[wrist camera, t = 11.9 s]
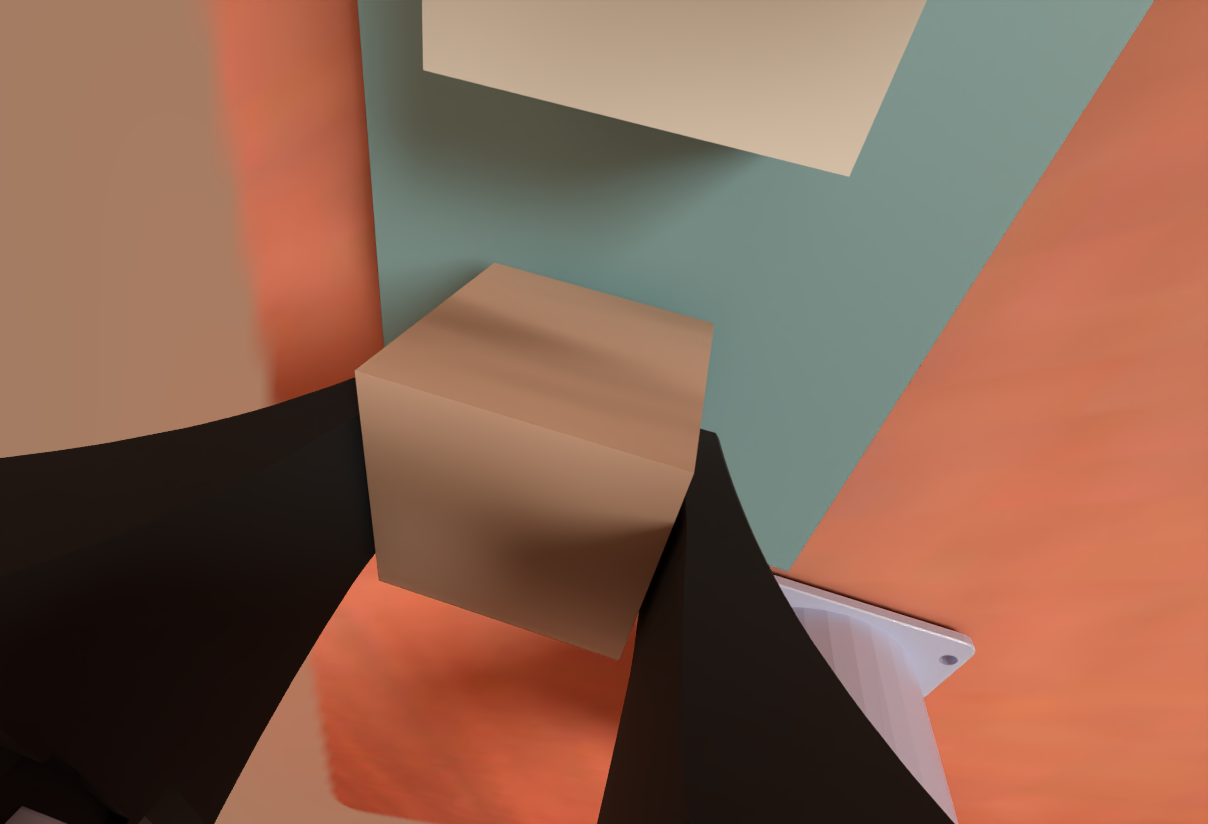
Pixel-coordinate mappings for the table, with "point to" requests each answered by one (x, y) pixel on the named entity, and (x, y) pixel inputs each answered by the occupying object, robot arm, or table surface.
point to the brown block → (533, 452)
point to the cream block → (690, 64)
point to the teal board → (744, 222)
